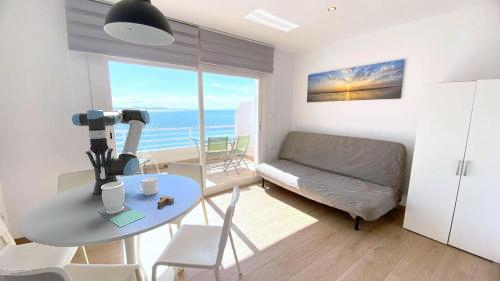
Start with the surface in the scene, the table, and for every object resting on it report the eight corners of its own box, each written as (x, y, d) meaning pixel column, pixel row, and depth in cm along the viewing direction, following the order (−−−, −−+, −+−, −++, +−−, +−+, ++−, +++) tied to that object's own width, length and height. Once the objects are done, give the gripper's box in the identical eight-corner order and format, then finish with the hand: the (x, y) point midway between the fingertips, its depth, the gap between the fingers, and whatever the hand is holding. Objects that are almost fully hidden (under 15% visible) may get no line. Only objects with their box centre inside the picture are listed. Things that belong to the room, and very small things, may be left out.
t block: (153, 206, 117) (153, 201, 117) (162, 200, 125) (162, 195, 124) (165, 208, 115) (165, 203, 115) (174, 201, 123) (173, 197, 123)
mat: (98, 212, 111) (98, 211, 111) (122, 203, 120) (122, 203, 120) (120, 227, 96) (120, 227, 96) (145, 216, 106) (145, 216, 106)
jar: (111, 206, 117) (108, 181, 115) (129, 205, 118) (127, 180, 116) (99, 215, 106) (96, 188, 104) (119, 214, 107) (117, 188, 105)
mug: (160, 190, 141) (159, 177, 139) (153, 195, 132) (152, 182, 131) (144, 189, 142) (142, 177, 140) (136, 195, 133) (134, 181, 131)
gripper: (86, 139, 105) (91, 182, 109) (114, 137, 116) (118, 176, 119) (81, 138, 109) (86, 180, 113) (108, 136, 120) (112, 174, 124)
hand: (102, 178), depth 116 cm, fingers closed
